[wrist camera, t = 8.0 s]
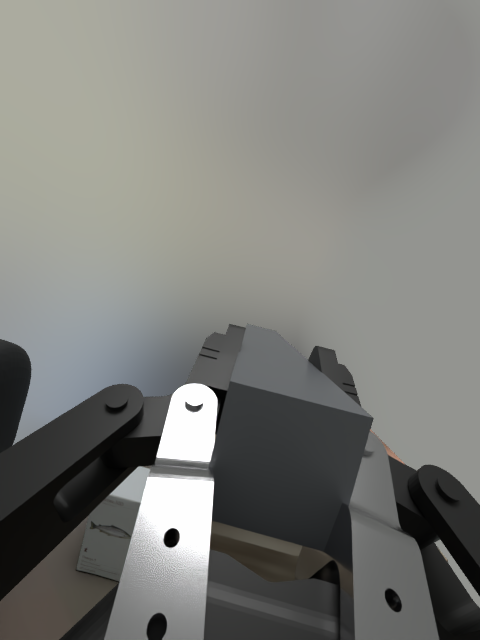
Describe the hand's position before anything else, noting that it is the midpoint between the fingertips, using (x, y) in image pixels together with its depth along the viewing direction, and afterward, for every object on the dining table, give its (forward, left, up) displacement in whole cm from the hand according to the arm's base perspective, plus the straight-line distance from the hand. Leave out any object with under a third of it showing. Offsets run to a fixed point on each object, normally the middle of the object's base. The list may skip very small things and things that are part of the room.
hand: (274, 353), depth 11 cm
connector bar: (+1, +5, -3) cm, 6 cm away
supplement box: (-6, +29, -41) cm, 51 cm away
